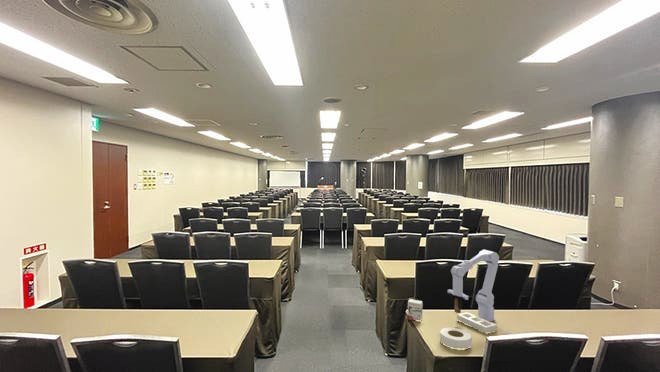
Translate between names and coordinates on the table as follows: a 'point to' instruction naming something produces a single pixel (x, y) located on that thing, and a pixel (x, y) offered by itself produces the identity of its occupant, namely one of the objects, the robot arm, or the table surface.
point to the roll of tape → (455, 338)
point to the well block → (477, 322)
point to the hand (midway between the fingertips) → (457, 307)
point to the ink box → (414, 309)
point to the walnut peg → (457, 306)
